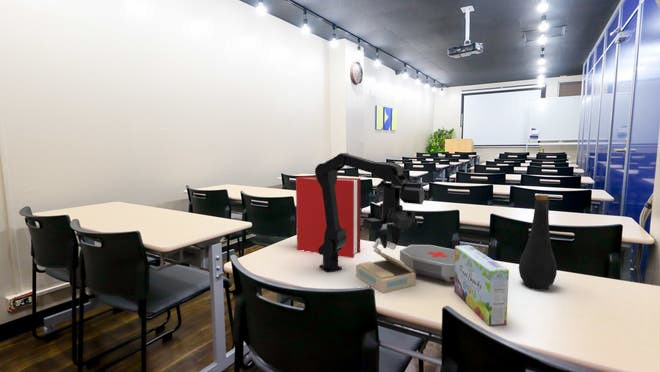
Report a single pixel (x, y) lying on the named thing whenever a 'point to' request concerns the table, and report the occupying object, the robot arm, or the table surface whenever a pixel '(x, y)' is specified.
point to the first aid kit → (430, 261)
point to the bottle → (539, 250)
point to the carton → (385, 275)
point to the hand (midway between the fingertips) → (389, 247)
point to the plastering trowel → (388, 258)
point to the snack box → (482, 284)
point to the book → (313, 214)
